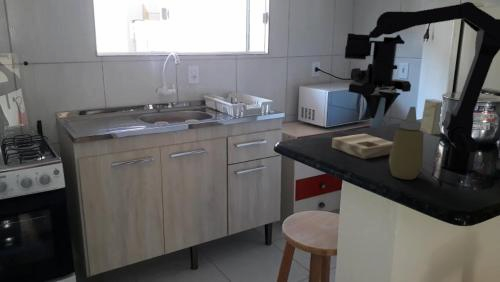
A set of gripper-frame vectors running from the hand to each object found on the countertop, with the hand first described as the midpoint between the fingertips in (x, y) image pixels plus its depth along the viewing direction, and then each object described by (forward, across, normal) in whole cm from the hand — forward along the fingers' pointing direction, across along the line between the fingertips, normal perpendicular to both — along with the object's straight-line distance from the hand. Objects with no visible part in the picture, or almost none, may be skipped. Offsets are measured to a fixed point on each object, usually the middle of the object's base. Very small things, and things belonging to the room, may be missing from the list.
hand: (376, 117), depth 116 cm
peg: (+2, 0, 0) cm, 2 cm away
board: (+13, -6, -9) cm, 16 cm away
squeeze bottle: (+13, +3, +13) cm, 19 cm away
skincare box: (+13, -47, -14) cm, 51 cm away
